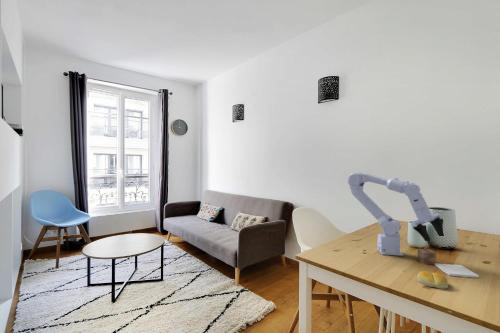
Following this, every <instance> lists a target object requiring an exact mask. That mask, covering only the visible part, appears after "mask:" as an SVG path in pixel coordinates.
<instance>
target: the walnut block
mask: <svg viewBox="0 0 500 333" xmlns="http://www.w3.org/2000/svg"><path fill="white" fill-rule="evenodd" d="M417 261H419V262H420V263H421V264H422V265H434V266H435V263H436V264H437V253H436V252H435V251H434V250H431V249H429V248H426V249H425V248H417Z"/></svg>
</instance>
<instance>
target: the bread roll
mask: <svg viewBox="0 0 500 333" xmlns="http://www.w3.org/2000/svg"><path fill="white" fill-rule="evenodd" d="M416 277H417V280H418V281H419V283H422V285H425V286H427V287H430V288H436V289H440V290H444V289H448V288H449V283H448V282H449V281H448V278H447V277H446V276H445V275H443V274H442V273H439V272H432V273H431V272H430V271H427V270H422V271H420V272H418V274H417V275H416Z"/></svg>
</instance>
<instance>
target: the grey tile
mask: <svg viewBox="0 0 500 333" xmlns="http://www.w3.org/2000/svg"><path fill="white" fill-rule="evenodd" d="M434 266H435V267H436V268H438V269H440V270H441V271H442V272H444V273H445V274H447V276H449V277H450V276H452V277H465V278H477V279H479V278H480V275H478V274H477V273H475V272H473V271H472V270H470V269H468V268H467V267H465V266H463V265H461V264H448V263H437V262H436V263H435V265H434Z"/></svg>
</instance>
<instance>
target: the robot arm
mask: <svg viewBox="0 0 500 333" xmlns="http://www.w3.org/2000/svg"><path fill="white" fill-rule="evenodd" d="M369 182H370V183H373V184H377V185H380V186H385V187H386V188H387V189H388V190H389V191H393V192H397V193H399V194H404V195H405V196H407V198H408V199H409V202H410V205H411V207H412V209H413V212H414V214H415V215H416V218H417V219H416V220H415V221H412V222H410V224H411V226H412V229H413V230H415V231H416V232H417V233H418V234H419V236H421V237H422V238H423V240H424V241H425V242H431V238H430V235H429V233H428V229H427V223H429V224H431V226H432V227H433V228H434V231H436V232H437V234H438V235H439V236H444V233H443V231H444V228H443V226H444V219H443V217H442V215H441V213H436V214H432V212H431V211H430V208H429V207H428V206H429V205H428V204H427V202H426V200H425V198H424V197H423V194H422V192H421V188H420V186H419V185H418V184H416V183H414V182H412V183H410V182H409V181H404V180H400V179H399V178H398V177H394V178H393V177H392V178H390V179H386V178H382V177H379V176H376V175H373V174H370V173H365V172H364V173H363V172H352V173H350V174H349V175H348V180H347V184H348V185H349V189H350V192H351V194H352V196H353V197H354V198H355V199H357V201H358V202H359V203H360V204H361V205H362V206H363V207H364V208H365V209H366V210H367V211H368V212H369V213H370V214H371V215H372V216H373V217H374V219H376V220H377V222H378V225H379V226H380V227H381V230H382V231H383V233H378V234H377V248H376V250H377V251H378V252H379V253H380V254H381V255H387V256H388V255H389V256H402V257H403V256H404V254H403V253H402V252H401V233H400V232H399V231H400V230H401V227H402V224H401V223H400V222H399V221H398V220H397V219H394V218H392V216H390V215H388V214H387V213H386V212H385V211H383V209H382V208H381V207H379V206H378V204H377V203H375V201H374V200H373V199H372V198H370V196H369V195H368V194H366V192H364V185H365V184H366V183H369ZM425 224H426V225H425Z"/></svg>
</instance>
